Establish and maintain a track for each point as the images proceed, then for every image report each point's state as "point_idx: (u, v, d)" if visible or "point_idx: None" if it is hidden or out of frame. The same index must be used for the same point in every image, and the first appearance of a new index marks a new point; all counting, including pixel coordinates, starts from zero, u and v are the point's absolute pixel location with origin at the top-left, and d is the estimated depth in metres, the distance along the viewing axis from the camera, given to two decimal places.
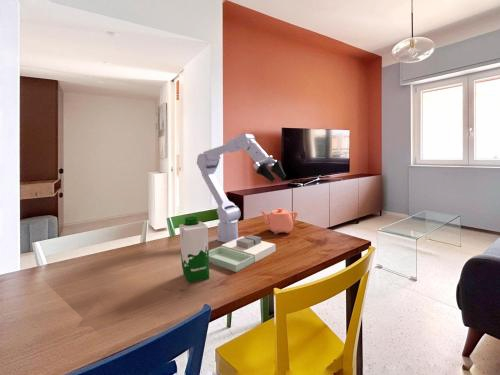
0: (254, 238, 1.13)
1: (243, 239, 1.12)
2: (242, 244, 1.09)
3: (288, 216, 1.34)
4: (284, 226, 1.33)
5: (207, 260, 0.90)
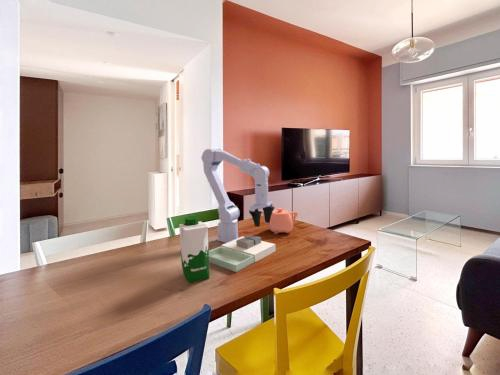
0: (254, 238, 1.13)
1: (243, 239, 1.12)
2: (242, 244, 1.09)
3: (288, 216, 1.34)
4: (284, 226, 1.33)
5: (207, 260, 0.90)
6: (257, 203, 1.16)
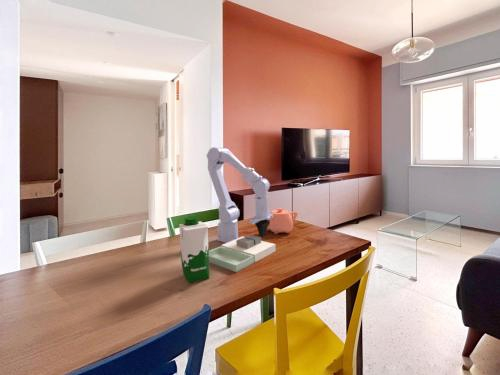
0: (254, 238, 1.13)
1: (243, 239, 1.12)
2: (242, 244, 1.09)
3: (288, 216, 1.34)
4: (284, 226, 1.33)
5: (207, 260, 0.90)
6: (257, 216, 1.17)
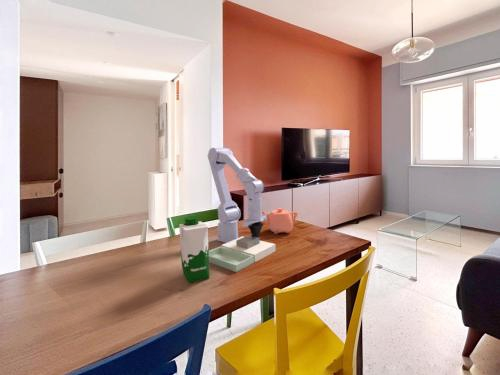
0: (252, 239, 1.12)
1: (243, 239, 1.12)
2: (241, 244, 1.09)
3: (288, 216, 1.34)
4: (284, 226, 1.33)
5: (207, 260, 0.90)
6: (250, 218, 1.13)
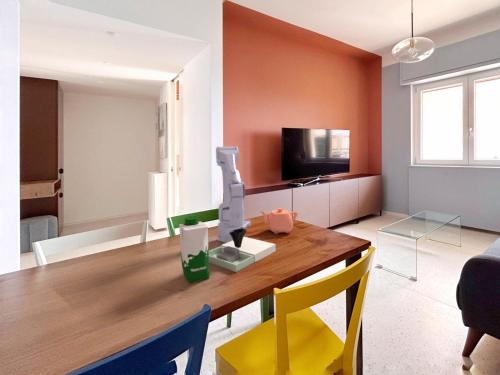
0: None
1: None
2: None
3: (288, 216, 1.34)
4: (284, 226, 1.33)
5: (207, 260, 0.90)
6: (231, 224, 1.04)
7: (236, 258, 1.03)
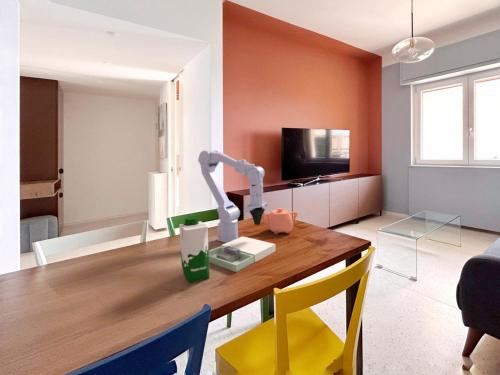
0: None
1: None
2: None
3: (288, 216, 1.34)
4: (284, 226, 1.33)
5: (207, 260, 0.90)
6: (252, 203, 1.16)
7: (236, 258, 1.03)
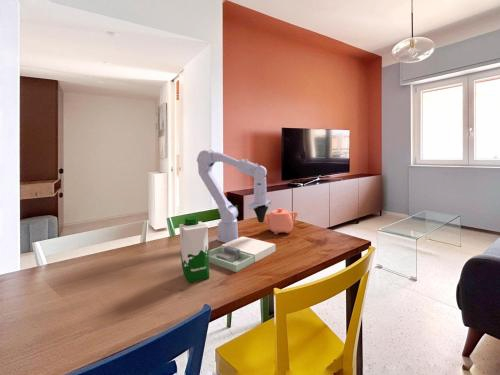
0: None
1: None
2: None
3: (288, 216, 1.34)
4: (284, 226, 1.33)
5: (207, 260, 0.90)
6: (256, 201, 1.20)
7: (236, 258, 1.03)
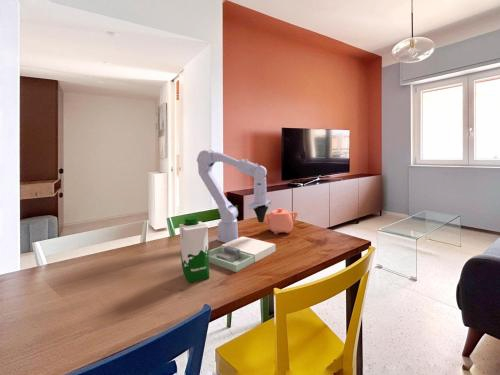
0: None
1: None
2: None
3: (288, 216, 1.34)
4: (284, 226, 1.33)
5: (207, 260, 0.90)
6: (256, 201, 1.20)
7: (236, 258, 1.03)
